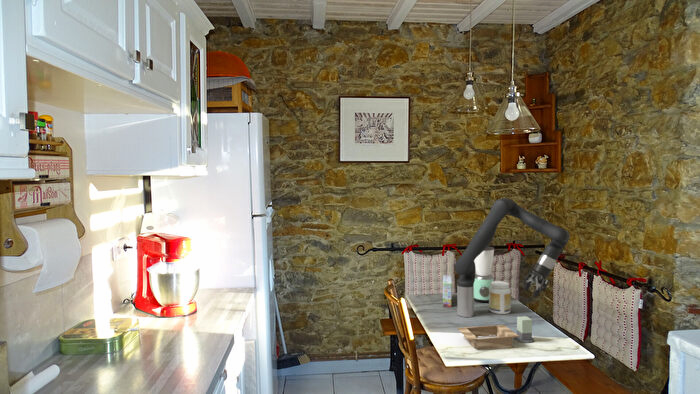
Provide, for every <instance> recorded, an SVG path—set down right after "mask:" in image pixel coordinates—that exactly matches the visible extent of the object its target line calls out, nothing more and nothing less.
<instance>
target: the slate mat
mask: <svg viewBox="0 0 700 394" xmlns="http://www.w3.org/2000/svg"><path fill="white" fill-rule="evenodd" d="M513 340H515V341H516V340H517V342H519V343H524V344H530V343H531V342H532V343H533V341H534V342H535V338H534V337H532V340H521V339H520V338H518V337H514V339H513Z"/></svg>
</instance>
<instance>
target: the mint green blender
mask: <svg viewBox="0 0 700 394" xmlns="http://www.w3.org/2000/svg"><path fill="white" fill-rule="evenodd" d="M494 251H495V247H493V246H490V245H488V247H487V248H486V249H485V250H484V251H483V252H482V253H481V254H479V255H478V256H477V257H476V259H475V260H474V262H475V281H474V301H475V303H480V302H483V303H489V288H490V287H491V286H490V285H491V282H493V281H495V280H494V276H493V275H492V274H491V273H492V267H493V261H494V255H495V254H494V253H495V252H494Z"/></svg>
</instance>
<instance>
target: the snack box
mask: <svg viewBox="0 0 700 394" xmlns="http://www.w3.org/2000/svg"><path fill="white" fill-rule="evenodd" d="M452 284H453V283H452V275H443V277H442V307H444V308H452V299H453V298H452V296H453V292H452V291H453V289H452V288H453V285H452Z"/></svg>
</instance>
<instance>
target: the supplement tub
mask: <svg viewBox="0 0 700 394" xmlns="http://www.w3.org/2000/svg"><path fill="white" fill-rule="evenodd" d="M490 286H491V287H490V288H489V302H488V310H489V311H490V312H491V313H494V314H497V315H507V314H510V313H511V310H512V309H511V308H512V307H511V305H512V304H511V303H512V300H511V299H512V298H511V297H512V295H511V294H512V291H511V288H510V283H509V282H506V281H502V280H498V281H497V280H494V281H493V282H491V285H490Z"/></svg>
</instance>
